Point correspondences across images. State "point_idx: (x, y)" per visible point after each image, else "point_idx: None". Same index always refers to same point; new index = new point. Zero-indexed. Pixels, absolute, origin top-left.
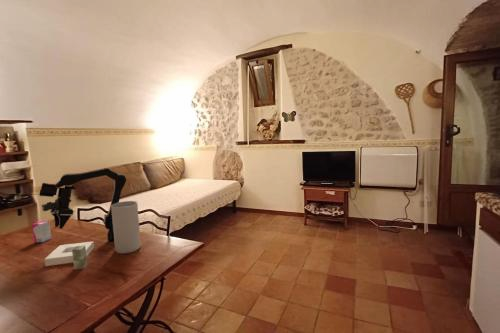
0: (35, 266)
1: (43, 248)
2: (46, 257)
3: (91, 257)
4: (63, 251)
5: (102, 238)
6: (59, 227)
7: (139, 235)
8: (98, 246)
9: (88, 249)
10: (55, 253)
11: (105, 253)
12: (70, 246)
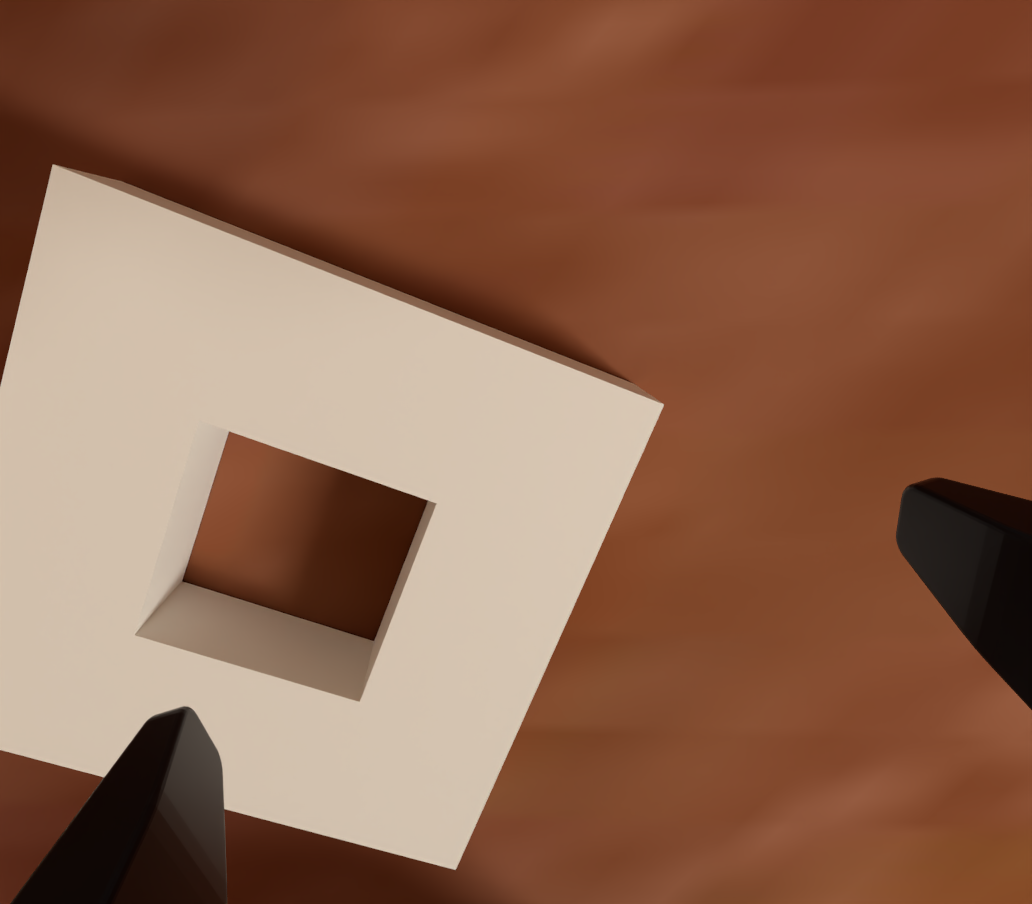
0: (207, 35)
1: (1009, 127)
2: (124, 198)
3: None
4: (325, 457)
5: (749, 891)
6: (143, 742)
7: None
8: None
9: None
10: (250, 342)
11: None
12: (454, 566)
